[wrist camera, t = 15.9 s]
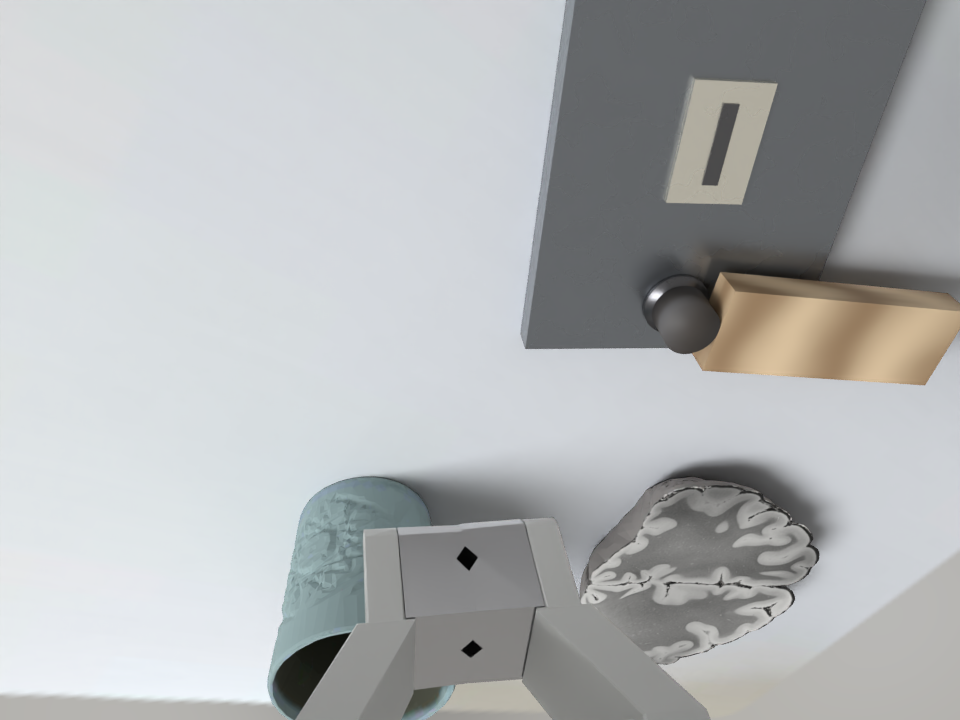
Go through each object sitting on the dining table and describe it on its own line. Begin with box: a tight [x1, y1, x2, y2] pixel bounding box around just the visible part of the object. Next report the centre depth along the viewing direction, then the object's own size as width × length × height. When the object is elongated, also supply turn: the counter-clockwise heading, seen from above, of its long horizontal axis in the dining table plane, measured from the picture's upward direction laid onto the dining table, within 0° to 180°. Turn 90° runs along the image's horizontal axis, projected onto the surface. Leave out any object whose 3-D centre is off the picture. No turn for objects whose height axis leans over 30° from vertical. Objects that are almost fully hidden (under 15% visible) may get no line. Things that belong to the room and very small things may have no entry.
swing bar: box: [652, 272, 960, 385], centre depth 43 cm, size 17×5×2 cm, turn 80°
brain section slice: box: [580, 477, 819, 665], centre depth 58 cm, size 20×17×3 cm
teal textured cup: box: [268, 477, 455, 720], centre depth 47 cm, size 10×10×12 cm
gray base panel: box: [521, 0, 926, 349], centre depth 37 cm, size 28×16×2 cm, turn 175°
